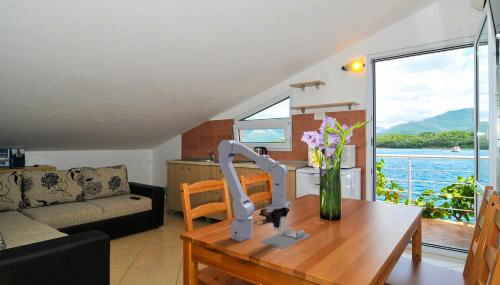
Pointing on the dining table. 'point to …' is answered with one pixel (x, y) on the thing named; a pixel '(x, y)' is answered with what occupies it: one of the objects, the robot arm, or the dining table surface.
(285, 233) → the end holder
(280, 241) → the board
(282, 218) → the connector
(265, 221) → the pottery mug
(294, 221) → the dining table surface
